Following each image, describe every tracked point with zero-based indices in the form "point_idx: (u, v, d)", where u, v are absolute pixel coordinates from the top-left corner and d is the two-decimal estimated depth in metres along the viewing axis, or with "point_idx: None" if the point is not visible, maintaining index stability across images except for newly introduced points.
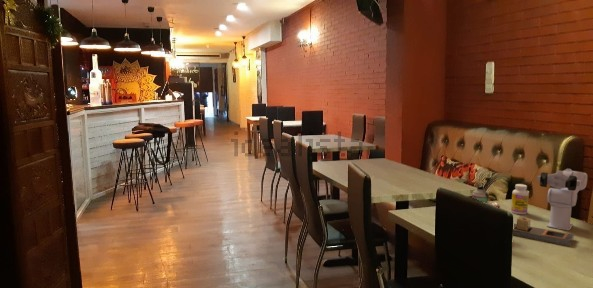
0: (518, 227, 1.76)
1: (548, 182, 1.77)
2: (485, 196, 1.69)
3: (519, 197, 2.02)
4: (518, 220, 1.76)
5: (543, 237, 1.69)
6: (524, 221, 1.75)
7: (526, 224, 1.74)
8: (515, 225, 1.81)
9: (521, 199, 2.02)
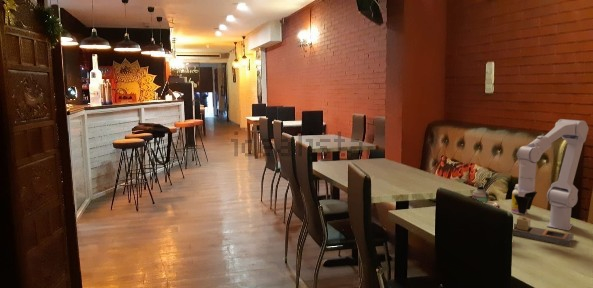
0: (518, 227, 1.76)
1: None
2: (485, 196, 1.69)
3: None
4: (518, 220, 1.76)
5: (543, 237, 1.69)
6: (524, 221, 1.75)
7: (526, 224, 1.74)
8: (515, 225, 1.81)
9: None
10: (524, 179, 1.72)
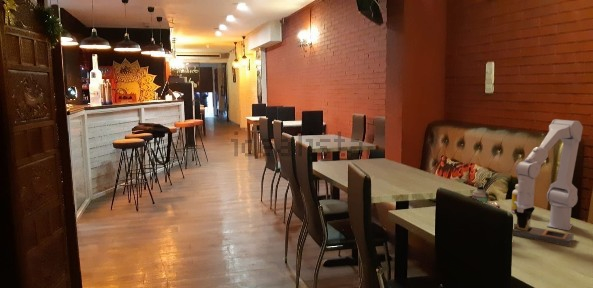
0: (518, 227, 1.76)
1: None
2: (485, 196, 1.69)
3: None
4: None
5: (543, 237, 1.69)
6: None
7: (526, 224, 1.74)
8: (515, 225, 1.81)
9: None
10: (523, 195, 1.73)
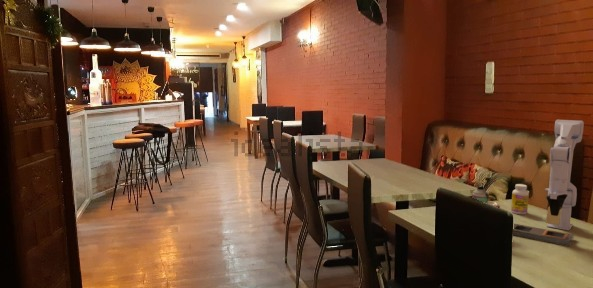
0: (548, 216, 1.69)
1: None
2: (485, 196, 1.69)
3: (519, 197, 2.02)
4: (549, 209, 1.69)
5: (543, 237, 1.69)
6: None
7: None
8: (515, 225, 1.81)
9: (521, 199, 2.02)
10: (556, 181, 1.66)
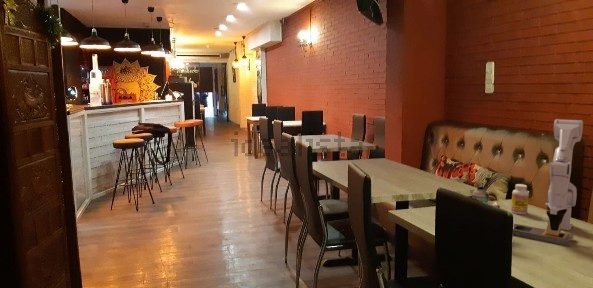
0: (548, 231, 1.70)
1: None
2: (485, 196, 1.69)
3: (519, 197, 2.02)
4: (549, 223, 1.69)
5: (543, 237, 1.69)
6: None
7: None
8: (515, 225, 1.81)
9: (521, 199, 2.02)
10: (556, 196, 1.66)
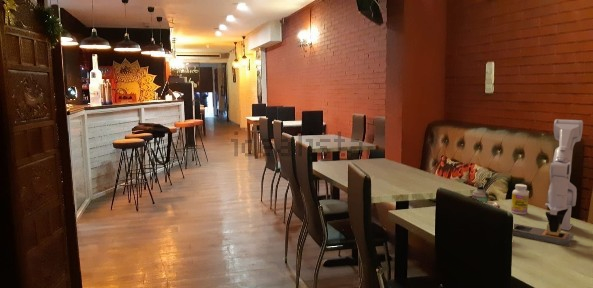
0: (548, 233, 1.70)
1: None
2: (485, 196, 1.69)
3: (519, 197, 2.02)
4: (548, 225, 1.70)
5: (543, 237, 1.69)
6: None
7: (557, 230, 1.68)
8: (515, 225, 1.81)
9: (521, 199, 2.02)
10: (556, 196, 1.66)
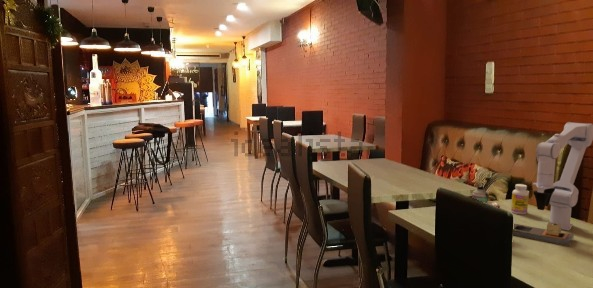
0: (548, 233, 1.70)
1: None
2: (485, 196, 1.69)
3: (519, 197, 2.02)
4: (548, 225, 1.70)
5: (543, 237, 1.69)
6: (555, 226, 1.68)
7: (557, 230, 1.68)
8: (515, 225, 1.81)
9: (521, 199, 2.02)
10: (543, 175, 1.73)
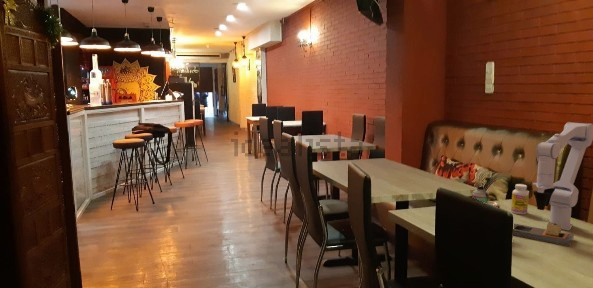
0: (548, 233, 1.70)
1: None
2: (485, 196, 1.69)
3: (519, 197, 2.02)
4: (548, 225, 1.70)
5: (543, 237, 1.69)
6: (555, 227, 1.68)
7: (557, 230, 1.68)
8: (515, 225, 1.81)
9: (521, 199, 2.02)
10: (543, 175, 1.73)
